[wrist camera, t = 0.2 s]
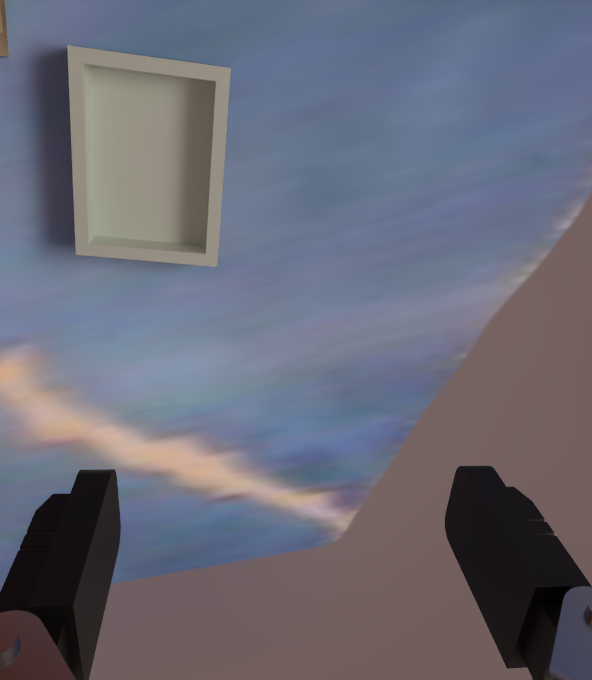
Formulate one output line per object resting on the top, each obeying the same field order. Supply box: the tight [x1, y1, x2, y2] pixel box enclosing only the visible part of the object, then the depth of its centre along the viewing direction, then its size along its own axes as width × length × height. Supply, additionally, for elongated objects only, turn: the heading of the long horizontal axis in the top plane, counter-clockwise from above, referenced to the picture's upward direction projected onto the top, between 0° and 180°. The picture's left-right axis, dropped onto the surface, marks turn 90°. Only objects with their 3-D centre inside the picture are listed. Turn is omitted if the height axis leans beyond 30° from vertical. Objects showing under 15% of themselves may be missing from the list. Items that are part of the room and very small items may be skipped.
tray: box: [67, 45, 231, 267], centre depth 35 cm, size 12×9×3 cm
